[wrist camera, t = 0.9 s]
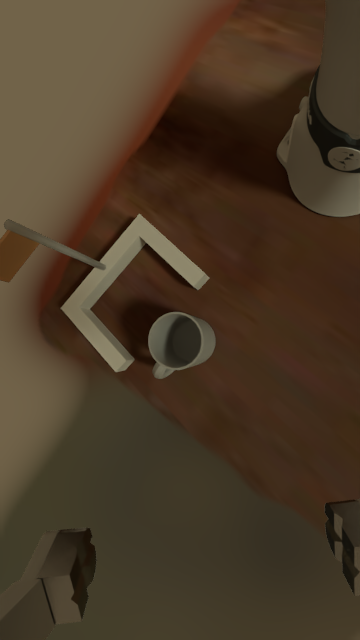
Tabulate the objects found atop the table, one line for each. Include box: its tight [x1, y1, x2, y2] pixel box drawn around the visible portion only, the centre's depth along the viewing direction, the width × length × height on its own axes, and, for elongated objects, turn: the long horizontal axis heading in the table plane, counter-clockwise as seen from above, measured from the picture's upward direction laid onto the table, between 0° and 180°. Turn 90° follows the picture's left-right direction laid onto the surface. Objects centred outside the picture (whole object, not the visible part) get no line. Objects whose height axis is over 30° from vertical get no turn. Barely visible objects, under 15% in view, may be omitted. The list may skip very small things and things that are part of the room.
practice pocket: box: [0, 214, 209, 372], centre depth 38 cm, size 14×20×21 cm
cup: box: [148, 312, 215, 379], centre depth 41 cm, size 7×10×9 cm
